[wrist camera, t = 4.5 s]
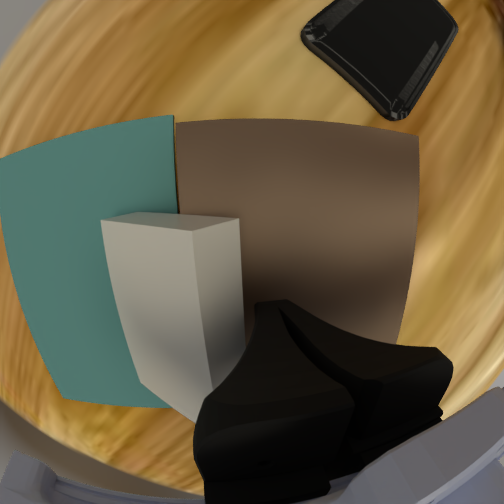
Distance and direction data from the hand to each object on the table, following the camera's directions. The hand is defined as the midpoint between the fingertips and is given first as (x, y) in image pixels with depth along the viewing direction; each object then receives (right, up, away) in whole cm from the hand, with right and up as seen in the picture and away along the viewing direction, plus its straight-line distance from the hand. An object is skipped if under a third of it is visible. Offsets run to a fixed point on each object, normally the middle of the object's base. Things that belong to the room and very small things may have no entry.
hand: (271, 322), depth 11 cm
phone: (+9, +18, +1) cm, 20 cm away
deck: (+2, +1, +4) cm, 4 cm away
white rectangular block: (-4, 0, 0) cm, 4 cm away
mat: (-10, 0, +3) cm, 11 cm away
